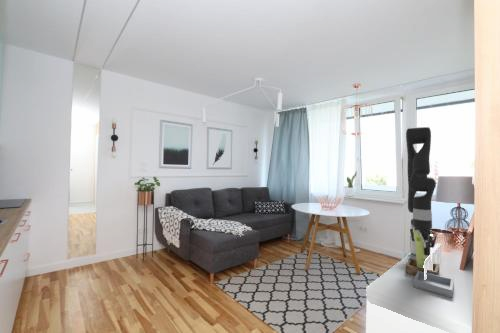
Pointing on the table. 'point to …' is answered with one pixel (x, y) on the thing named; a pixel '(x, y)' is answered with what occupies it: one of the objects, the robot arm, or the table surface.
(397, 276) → the table surface
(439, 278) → the tray
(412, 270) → the wooden picture frame
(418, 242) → the tube
